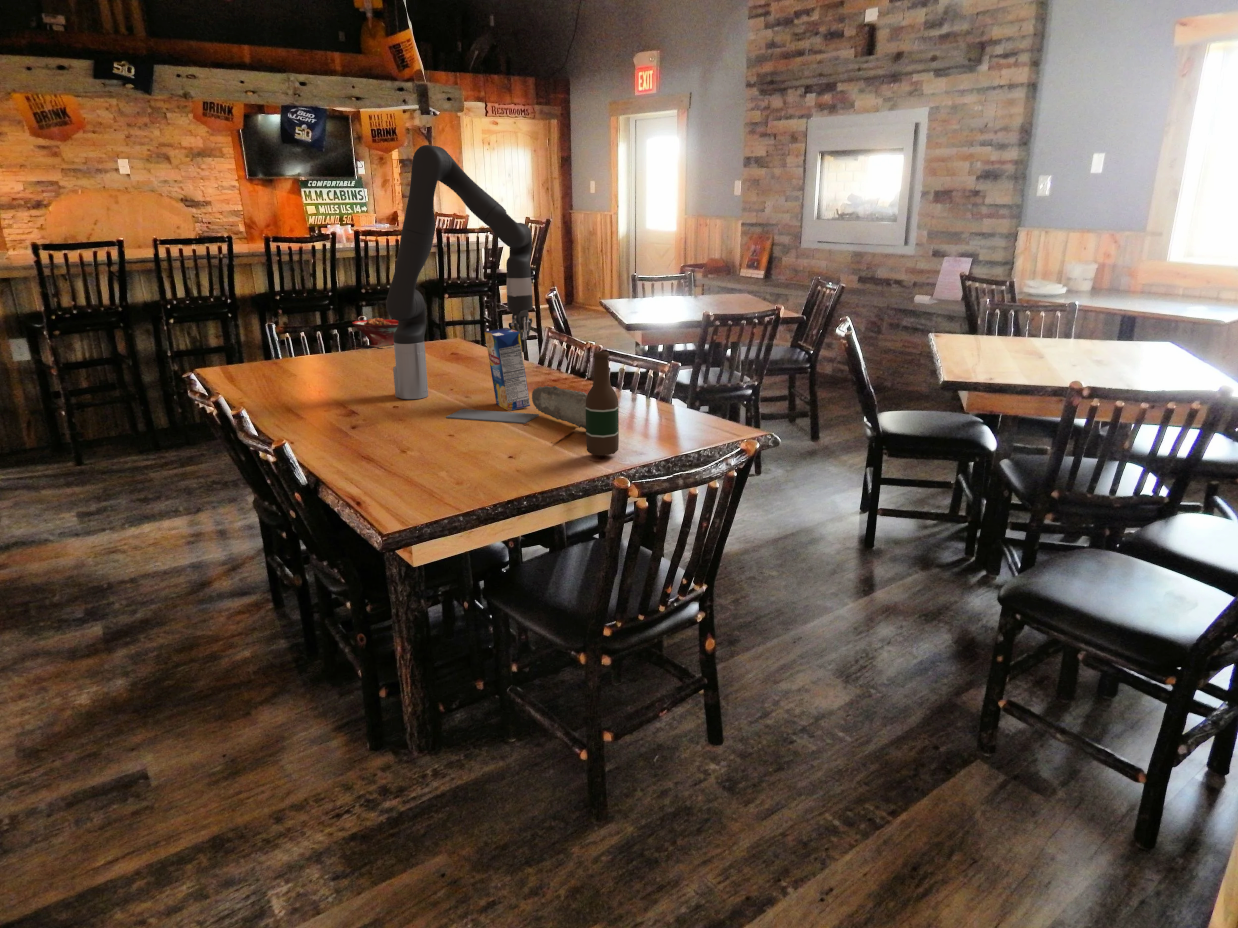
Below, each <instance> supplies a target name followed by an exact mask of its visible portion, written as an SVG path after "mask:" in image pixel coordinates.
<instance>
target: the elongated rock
mask: <svg viewBox="0 0 1238 928" xmlns="http://www.w3.org/2000/svg"><path fill="white" fill-rule="evenodd" d="M587 395H588V393H586V392H584V391H581V390H580V391H577V390H571V389H566V388H560V387H558V386H557V385H554V386H548V385H545V386H538V387H535V388H534V389H533V390H532V394H531V399H532V400H531V401H532V403H533V406H534V407H535V409H536V410H537V411H538V412H540V413H543V414H544V415H547V416H549V417H551V418H554V419H556V420H559V421H560V420H561V421H562V422H567V423H569V424H572V425H575V426H577V427H578V428H579V429H580V428H582V429H585V430H586V398H587Z"/></svg>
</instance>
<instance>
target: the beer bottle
mask: <svg viewBox="0 0 1238 928" xmlns="http://www.w3.org/2000/svg"><path fill="white" fill-rule="evenodd" d="M592 356H593V358H594V362H593V363H594V364H593V366H594V367H593V383H592V386H591V388H590V389H589V390H588V392H587V398H586V429H585V435H586V436H585V440H586V441H585V442H586V443H585V446H586V451H587V452H588V453H589V454H591V455H593V456H594V455H596V456H609V455H614V454H616V453H617V452H618V451H619V444H620V443H619V441H620V440H619V439H620V437H619V435H620V433H619V432H620V431H619V428H620V426H619V424H620V423H619V419H620V418H619V398H618V395H617V393H616V391H615V390H614V388H613V386H612V384H611V378H610V363H609V358H610V352H609V351H607V350H606V351H605V350H597V351H594V352H593V355H592Z"/></svg>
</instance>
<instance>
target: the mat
mask: <svg viewBox="0 0 1238 928" xmlns="http://www.w3.org/2000/svg"><path fill="white" fill-rule="evenodd" d="M539 416H540V414H539V413H529V412H526V413H525V412H514V411H498V410H497V411H496V410H484V409H472V408H461V409H459V410H456V411H455V412H453V413H451V414H449V415H446V416H445V418H446V419H455V420H470V421H483V422H496V423H497V422H498V423H511V424H522V425H525V424H527V423H529V422H530V421H532V420H534V419H536V418H537V417H539Z"/></svg>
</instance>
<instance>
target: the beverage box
mask: <svg viewBox="0 0 1238 928" xmlns="http://www.w3.org/2000/svg"><path fill="white" fill-rule="evenodd" d="M484 337H485V343H486V349H487V354H488V355H487V357H488V360H489V367H490V372H491V378H492V385H493V390H494V391H493V392H494V397H495V403H496V405H498V406H499V407H501V408H502V409H505V410H506V412H512V411H514V410H519V409H523V408H527V407H531V401H530V396H529V395H530V394H529V390H528V389H529V388H528V382H527V375H526V370H525V369H526V368H525V364H524V363H525V362H524V356H523V352H522V348H521V341H520V335H519V332H518V331H515V330H512V329H510V328H509V327H503V328H496V329H493V330H485V331H484Z"/></svg>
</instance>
